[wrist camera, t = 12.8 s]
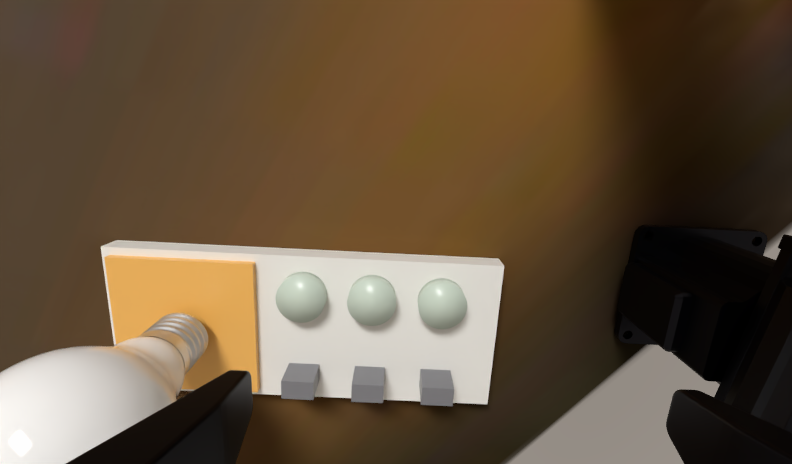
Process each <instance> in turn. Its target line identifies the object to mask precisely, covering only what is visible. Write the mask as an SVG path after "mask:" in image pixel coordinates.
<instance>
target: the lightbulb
mask: <svg viewBox="0 0 792 464" xmlns="http://www.w3.org/2000/svg"><path fill="white" fill-rule="evenodd" d="M207 346H208V334H207V331H206V329H205V327H204V326H203V324H202V323H201V322H200V321H199V320H197V319H196V318H195V317H193V316H191V315H189V314H185V313H170V314H167V315H165V316H163V317H162V318H160V319H159V320H158V321H157V322H156V323H154V324H153V325H152V326H151V327H150V328H148V329H147V330H146V331H145V332H143V333H142V334H141V335H140V336H138V337H136V338H131V339H128V340H125V341H123V342H120V343H118V344H116V345H114V346H112V347H109V346H78V347H69V348H63V349H58V350H53V351H49V352H46V353H42V354H39V355H36V356H34V357H31V358H28V359H26V360H24V361H21V362H19V363H17V364H15V365H13V366H11V367H9V368H7V369H5V370H4V371H2V372H0V464H66V463H68V462H69V461H71V460H73V459H75V458H76V457H78V456H80V455H82V454H83V453H85V452H87V451H89V450H90V449H92V448H94V447H96V446H97V445H99V444H101V443H103V442H104V441H106V440H108V439H110V438H111V437H113V436H115V435H117V434H119V433H120V432H122V431H124V430H126V429H127V428H129V427H131V426H133V425H134V424H136V423H138V422H140V421H141V420H143V419H145V418H147V417H148V416H150V415H152V414H154V413H155V412H157V411H159V410H161V409H162V408H164V407H166V406H168V405H169V404H171V403H173V402H175V401H176V400H177V397H178V395H179V393H180V391H181V388H182V386H183V382H184V377H185V375H186V373H187V372H188V371H189V370H190V369H191V368H192V366H193V365H194V364H195V363H196V362H197V360H198V359H199V358H200V357H201V356H202V354H203V353H204V352H205V350H206V349H207Z"/></svg>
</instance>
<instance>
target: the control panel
mask: <svg viewBox="0 0 792 464" xmlns="http://www.w3.org/2000/svg"><path fill="white" fill-rule="evenodd" d="M101 253H102V260H103V267H104V275H105V282H106V289H107V296H108V304H109V311H110V318H111V325H112V333H113V340H114V345H116V344H118V343H120V342H123V341H125V340H128V339H131V338H136V337H138V336H140V335H141V334H142V333H143V332H145V331H146V330H147V329H148V328H150V327H151V326H152V325H153V324H154V323H156V322H157V321H158V320H159V319H160V318H162V317H163V316H165V315H167V314H170V313H185V314H189V315H191V316H193V317H195V318H196V319H197V320H199V321H200V322H201V323H202V324H203V326H204V327H205V329H206V331H207V334H208V346H207V349H206V350H205V352H204V353H203V354H202V356H201V357H200V358H199V359H198V360H197V362H196V363H195V364H194V365H193V366H192V368H191V369H190V370H189V371H188V372H187V373H186V375H185V377H184V382H183V386H182V388H181V391H194V390H196V389H197V388H199V387H201V386H203V385H204V384H206V383H208V382H210V381H211V380H213V379H215V378H217V377H218V376H220V375H222V374H224V373H225V372H227V371H229V370H244V371H249V372H250V374H251V380H252V394H268V395H281V399H302V400H313V399H314V397H335V398H351V402H369V403H383V400H402V401H421V405H436V406H453V403H469V404H487V403H488V395H489V387H490V379H491V371H492V362H493V354H494V346H495V338H496V330H497V322H498V314H499V305H500V297H501V289H502V281H503V273H504V265H503V264H502V262H501V261H500V260H499V259H498V258H477V257H456V256H435V255H415V254H394V253H373V252H352V251H332V250H311V249H290V248H269V247H249V246H228V245H207V244H186V243H166V242H145V241H124V240H116V241H113V242H111V243H109V244H106V245H104V246H101Z"/></svg>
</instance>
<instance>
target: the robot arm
mask: <svg viewBox="0 0 792 464" xmlns="http://www.w3.org/2000/svg"><path fill="white" fill-rule="evenodd" d="M648 231H649V236H648V237H647V238H646V239H644V234H645V233H646V232H648ZM754 238H755V241H754V242H753V243H752V240H753V239H754ZM766 243H767V236H766V235H765V234H764V233H762V232H759V231H755V230H745V229H724V228H704V227H684V226H663V225H642V226H640V227H638V228H637V230H636V231H635V234H634V239H633V244H632V249H631V253H630V258H629V263H628V265H627V266H626V268H625V273H624V278H623V283H622V288H621V293H620V298H619V303H618V310H619V313H618V317H617V322H616V327H615V335H616V337H617V338H618V339H619V340H620V341H621V342H623V343H631V344H653V345H659V346H660V347H662V348H663V349H664V350H665V351H668V352H672V353H673V354H674V355H676V356H677V357H678V358H679V359H680V360H681V361H683V362H684V363H685V364H686V365H688V366H689V367H690V368H691V369H692V370H694V371H695V372H696V373H698V375H700V376H701V377H702V378H703V379H704V380H707V381H716V382H718V383H719V384H720V386H719V388H718V390H717V392H716V395H715V397H712V396H710V395H707V394H705V393H703V392H701V391H697V390H677V391H676V392H675V393H674V395H673V398H672V402H671V406H670V410H669V414H668V418H667V422H666V427H667V431H668V434H669V436H670V438H671V440H672V442H673V444H674V446H675V447H676V449H677V451H678V453H679V455H680V457H681V459H682V460H683V462H684V464H792V236H790V235H783V237H782V239H781V242H780V244H779V246H778V248H780V249H781V250H780V253H779V255H778V257H777V259H776V260H773V259H771V258H768V257H765V256H763V254H764V250H765V247H766ZM626 331H629V332H628V334H626V335H623V334H624V332H626ZM252 407H253V401H252V380H251V374H250V372H249V371H244V370H229V371H227V372H225V373H224V374H222V375H220V376H218V377H217V378H215V379H213V380H211V381H210V382H208V383H206V384H204V385H203V386H201V387H199V388H197V389H196V390H194V391H192V392H190V393H189V394H187V395H185V396H183V397H182V398H180V399H178V400H176V401H175V402H173V403H171V404H169V405H168V406H166V407H164V408H162V409H161V410H159V411H157V412H155V413H154V414H152V415H150V416H148V417H147V418H145V419H143V420H141V421H140V422H138V423H136V424H134V425H133V426H131V427H129V428H127V429H126V430H124V431H122V432H120V433H119V434H117V435H115V436H113V437H111V438H110V439H108V440H106V441H104V442H103V443H101V444H99V445H97V446H96V447H94V448H92V449H90V450H89V451H87V452H85V453H83V454H82V455H80V456H78V457H76V458H75V459H73V460H71V461H69V462H68V463H66V464H235V463H236V460H237V457H238V454H239V451H240V448H241V445H242V442H243V439H244V436H245V433H246V430H247V427H248V424H249V421H250V418H251V414H252Z"/></svg>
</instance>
